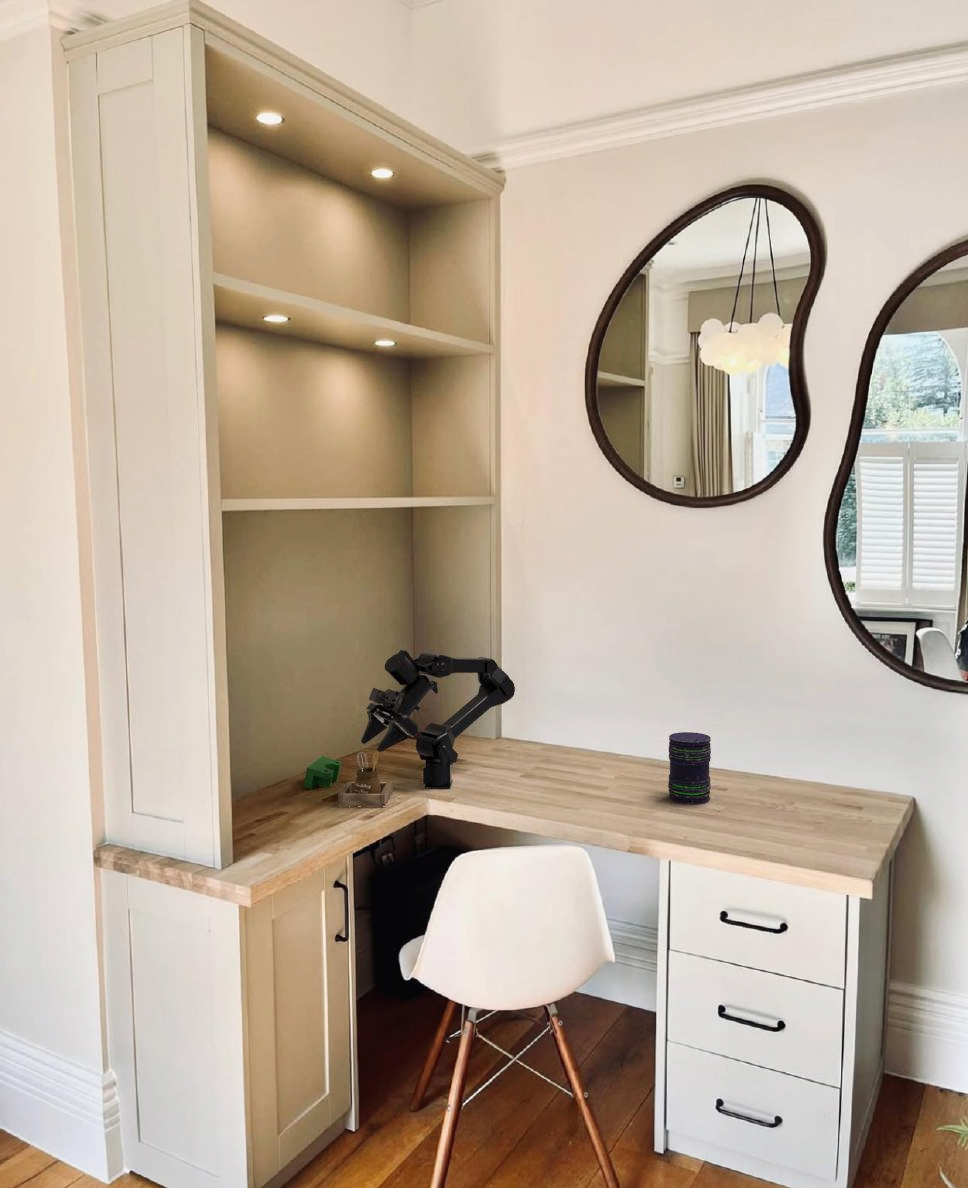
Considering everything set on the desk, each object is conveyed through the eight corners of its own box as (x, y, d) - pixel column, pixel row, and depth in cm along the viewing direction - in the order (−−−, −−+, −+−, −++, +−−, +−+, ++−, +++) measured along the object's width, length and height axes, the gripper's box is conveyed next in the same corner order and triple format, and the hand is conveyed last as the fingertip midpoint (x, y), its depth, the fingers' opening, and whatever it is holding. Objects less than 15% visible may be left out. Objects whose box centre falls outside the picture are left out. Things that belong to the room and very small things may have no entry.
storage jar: (660, 795, 241) (660, 734, 240) (695, 790, 245) (696, 730, 243) (682, 806, 232) (682, 743, 230) (718, 802, 235) (719, 739, 234)
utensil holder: (367, 793, 244) (366, 745, 243) (386, 797, 240) (385, 748, 239) (350, 799, 239) (348, 750, 238) (369, 803, 235) (368, 753, 234)
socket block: (392, 795, 245) (392, 781, 245) (385, 809, 234) (384, 795, 234) (348, 795, 246) (347, 781, 245) (338, 809, 235) (338, 794, 235)
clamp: (324, 805, 251) (326, 778, 246) (302, 799, 251) (304, 771, 247) (342, 776, 261) (344, 749, 256) (321, 769, 262) (323, 742, 257)
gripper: (372, 669, 249) (332, 719, 244) (406, 681, 233) (363, 734, 228) (402, 697, 253) (362, 746, 249) (436, 710, 237) (395, 763, 233)
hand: (370, 746), depth 239 cm, fingers open, 9 cm apart
